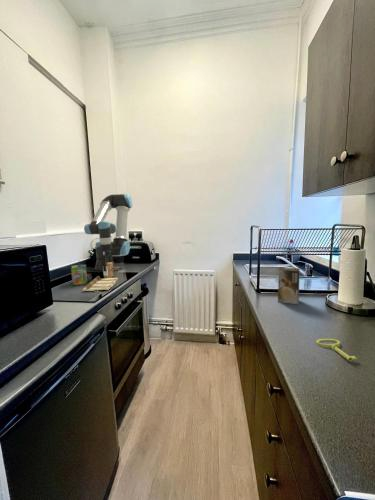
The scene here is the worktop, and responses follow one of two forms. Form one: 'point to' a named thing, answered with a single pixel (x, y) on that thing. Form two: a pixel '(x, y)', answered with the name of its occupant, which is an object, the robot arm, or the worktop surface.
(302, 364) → the worktop surface
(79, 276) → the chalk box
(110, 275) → the marking gauge
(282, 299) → the coffee box
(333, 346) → the key
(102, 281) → the guide board
